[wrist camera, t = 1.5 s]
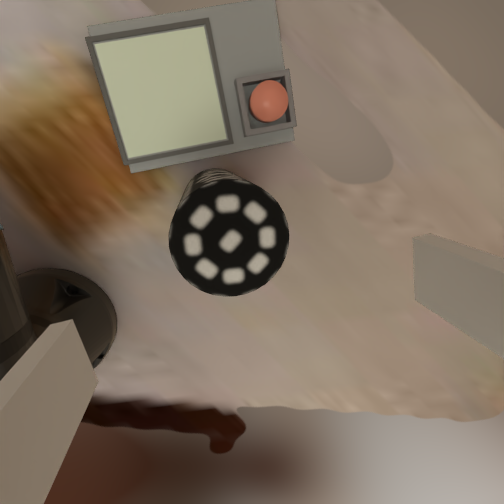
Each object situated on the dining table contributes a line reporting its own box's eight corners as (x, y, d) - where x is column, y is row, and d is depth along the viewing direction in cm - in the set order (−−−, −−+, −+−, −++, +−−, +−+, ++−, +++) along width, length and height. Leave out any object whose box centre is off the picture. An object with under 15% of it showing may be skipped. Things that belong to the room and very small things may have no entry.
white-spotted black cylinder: (212, 154, 39) (223, 151, 20) (261, 198, 42) (312, 233, 23) (169, 205, 40) (142, 249, 21) (220, 246, 43) (236, 317, 24)
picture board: (128, 173, 38) (123, 175, 36) (85, 30, 34) (74, 18, 31) (292, 140, 40) (299, 139, 37) (272, 0, 36) (278, -13, 33)
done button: (252, 125, 37) (255, 123, 35) (245, 88, 36) (248, 83, 34) (285, 119, 37) (290, 117, 35) (279, 81, 36) (285, 77, 34)
